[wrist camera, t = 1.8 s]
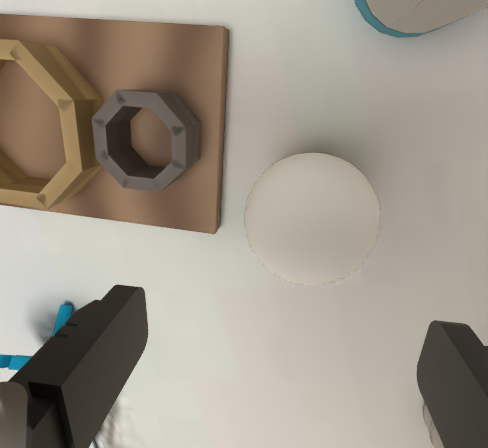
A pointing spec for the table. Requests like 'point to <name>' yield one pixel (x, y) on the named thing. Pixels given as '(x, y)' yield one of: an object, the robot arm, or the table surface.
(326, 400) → the table surface
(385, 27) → the face-printed can
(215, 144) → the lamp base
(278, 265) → the lightbulb
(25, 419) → the robot arm
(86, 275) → the table surface
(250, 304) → the table surface
